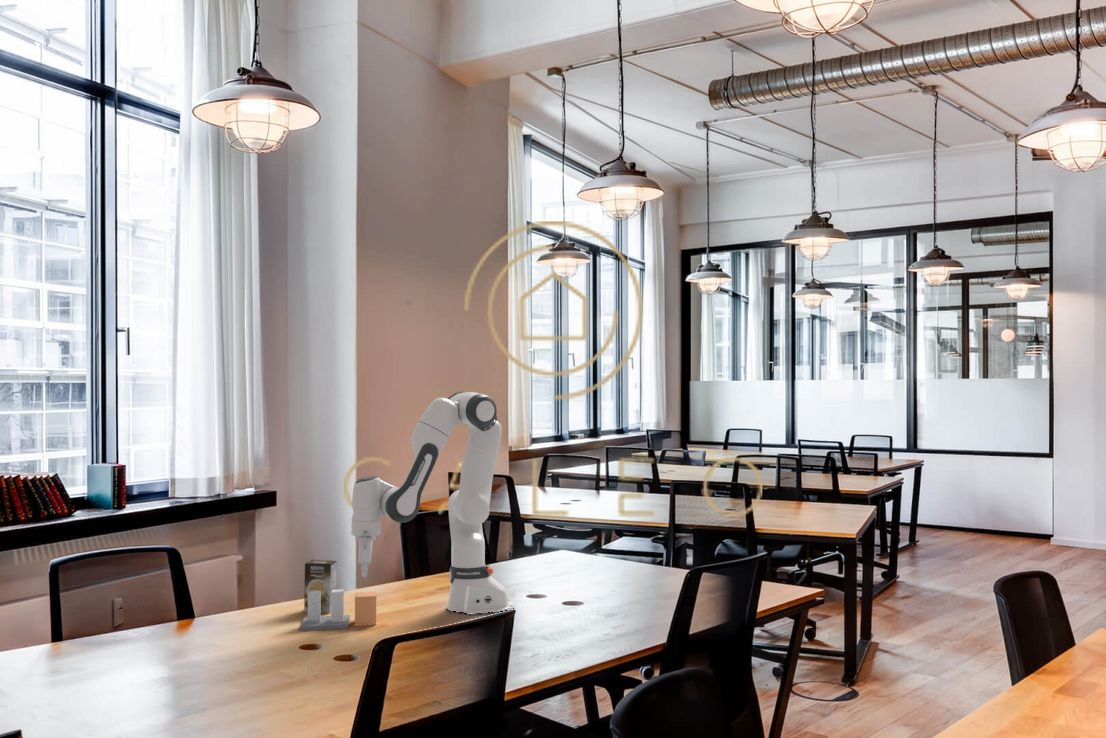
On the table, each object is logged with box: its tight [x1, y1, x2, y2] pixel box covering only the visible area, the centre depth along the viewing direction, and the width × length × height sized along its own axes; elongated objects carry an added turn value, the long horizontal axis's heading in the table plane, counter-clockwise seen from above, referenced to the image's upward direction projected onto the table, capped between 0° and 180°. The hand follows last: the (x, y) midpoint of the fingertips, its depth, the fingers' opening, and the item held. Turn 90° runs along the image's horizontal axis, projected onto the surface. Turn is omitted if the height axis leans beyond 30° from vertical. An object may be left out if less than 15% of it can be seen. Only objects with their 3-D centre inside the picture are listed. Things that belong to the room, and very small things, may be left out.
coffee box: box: [303, 559, 338, 614], centre depth 294 cm, size 9×6×16 cm
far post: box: [307, 590, 322, 623], centre depth 275 cm, size 4×4×10 cm
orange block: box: [354, 591, 377, 627], centre depth 278 cm, size 6×6×9 cm
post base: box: [300, 588, 351, 632], centre depth 276 cm, size 14×12×10 cm
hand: (364, 573), depth 278 cm, fingers open, 8 cm apart
